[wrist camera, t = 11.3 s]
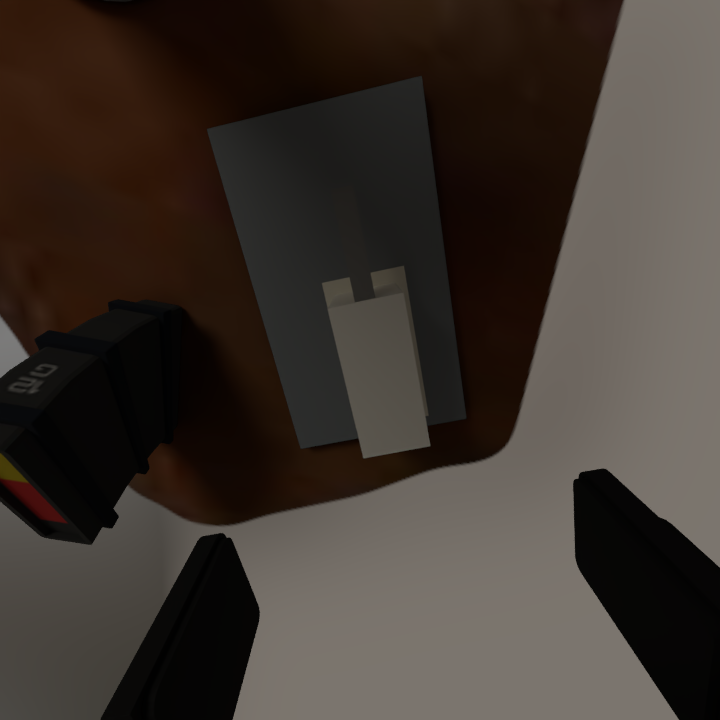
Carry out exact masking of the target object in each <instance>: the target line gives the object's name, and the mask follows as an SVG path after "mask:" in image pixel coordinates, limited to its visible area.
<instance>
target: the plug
mask: <svg viewBox="0 0 720 720" xmlns="http://www.w3.org/2000/svg"><path fill="white" fill-rule="evenodd" d="M331 195H332V199H333V204H334V208H335V213H336V218H337V222H338V227H339V231H340V236H341V241H342V245H343V250H344V254H345V259H346V264H347V268H348V273H349V277H350V282H351V287H352V291H351V292H347V293H342V294H337V295H335V296H334V298H333V300H332V301H331V303H330V305H329V307H328V313H329V317H330V322H331V326H332V330H333V334H334V338H335V342H336V346H337V351H338V355H339V359H340V363H341V367H342V371H343V375H344V380H345V384H346V388H347V392H348V396H349V400H350V404H351V408H352V413H353V417H354V421H355V425H356V429H357V433H358V437H359V442H360V446H361V450H362V454H363V458H368V457H374V456H379V455H385V454H390V453H396V452H401V451H407V450H412V449H418V448H423V447H429V446H430V441H429V435H428V429H427V423H426V418H425V412H424V406H423V400H422V395H421V389H420V383H419V378H418V372H417V366H416V360H415V355H414V349H413V343H412V337H411V332H410V326H409V320H408V315H407V309H406V303H405V297H404V292H403V291H402V290H401V289H400V288H399V287H398V286H397V284H396V283H395V282H393V283H389V284H384V285H379V286H375V287H373V283H372V278H371V273H370V268H369V263H368V258H367V253H366V248H365V243H364V238H363V233H362V228H361V223H360V218H359V213H358V207H357V202H356V197H355V192H354V187H353V185H349V186H345V187H341V188H336V189H332V190H331Z"/></svg>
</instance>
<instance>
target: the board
mask: <svg viewBox="0 0 720 720" xmlns="http://www.w3.org/2000/svg"><path fill="white" fill-rule="evenodd" d="M207 132H208V135H209V139H210V142H211V145H212V149H213V152H214V156H215V159H216V162H217V166H218V169H219V173H220V176H221V179H222V183H223V186H224V190H225V193H226V196H227V200H228V203H229V207H230V210H231V213H232V217H233V220H234V224H235V227H236V230H237V234H238V237H239V241H240V244H241V247H242V251H243V254H244V258H245V261H246V264H247V268H248V271H249V275H250V278H251V281H252V285H253V288H254V292H255V295H256V298H257V302H258V305H259V309H260V312H261V315H262V319H263V322H264V326H265V329H266V332H267V336H268V339H269V343H270V346H271V349H272V353H273V356H274V360H275V363H276V366H277V370H278V373H279V377H280V380H281V383H282V387H283V390H284V394H285V397H286V400H287V404H288V407H289V411H290V414H291V417H292V421H293V424H294V428H295V431H296V434H297V438H298V441H299V445H300V448H301V449H302V448H308V447H313V446H319V445H324V444H330V443H335V442H341V441H346V440H352V439H357V438H359V437H358V433H357V429H356V425H355V421H354V417H353V413H352V408H351V404H350V400H349V396H348V392H347V388H346V384H345V380H344V375H343V371H342V367H341V363H340V359H339V355H338V351H337V346H336V342H335V338H334V334H333V330H332V326H331V322H330V317H329V313H328V307H329V305H330V303H331V301H332V300H333V298H334V296H335V295H337V294H342V293H347V292H351V291H352V287H351V282H350V277H349V273H348V268H347V264H346V259H345V254H344V250H343V245H342V241H341V236H340V231H339V227H338V222H337V218H336V213H335V208H334V204H333V199H332V195H331V190H332V189H336V188H341V187H345V186H349V185H353V187H354V192H355V197H356V202H357V207H358V213H359V218H360V223H361V228H362V233H363V238H364V243H365V248H366V253H367V258H368V263H369V268H370V273H371V278H372V283H373V287H375V286H379V285H384V284H389V283H393V282H395V283H396V284H397V286H398V287H399V288H400V289H401V290H402V291H403V292H404V297H405V303H406V309H407V315H408V320H409V326H410V332H411V337H412V343H413V349H414V355H415V360H416V366H417V372H418V378H419V383H420V389H421V395H422V400H423V406H424V412H425V418H426V423H427V426H429V425H435V424H440V423H446V422H451V421H457V420H462V419H466V411H465V404H464V396H463V388H462V381H461V373H460V365H459V358H458V350H457V343H456V335H455V327H454V320H453V312H452V304H451V297H450V289H449V281H448V274H447V266H446V258H445V251H444V243H443V235H442V228H441V220H440V212H439V205H438V197H437V189H436V182H435V174H434V167H433V159H432V151H431V144H430V136H429V128H428V121H427V113H426V105H425V98H424V90H423V82H422V76H419V77H415V78H411V79H407V80H403V81H399V82H395V83H391V84H387V85H383V86H378V87H374V88H370V89H366V90H362V91H358V92H354V93H350V94H346V95H342V96H338V97H334V98H330V99H326V100H322V101H318V102H314V103H310V104H306V105H302V106H298V107H294V108H290V109H286V110H282V111H278V112H274V113H270V114H266V115H262V116H258V117H254V118H250V119H245V120H241V121H237V122H233V123H229V124H225V125H221V126H217V127H213V128H209V129H207Z"/></svg>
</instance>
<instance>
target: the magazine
mask: <svg viewBox="0 0 720 720" xmlns="http://www.w3.org/2000/svg"><path fill="white" fill-rule="evenodd" d="M108 307H109V312H107V313H105V314H102V315H100V316H97V317H95V318H92V319H90V320H88V321H86V322H85V323H83V324H81V325H79V326H78V327H76V328H74V329H73V330H71V331H69V332H68V333H61V332H56V331H50V330H49V331H47V332H45V333H43V334H42V335H40V336H39V337H37V338H35V342H36V344H37V346H38V349H39V351H38V352H37V353H35V354H34V355H32V356H31V357H29V358H28V359H26V360H24V361H23V362H21V363H20V364H18V365H17V366H15V367H14V368H12V369H11V370H9V371H8V372H7V373H6V374H5V375H4V376H2V377H1V378H0V502H2V503H3V504H4V505H5V506H6V507H7V508H9V509H10V510H11V511H12V512H13V513H14V514H15V515H17V516H18V517H19V518H20V519H22V521H24V522H25V523H26V524H27V525H28V526H29V527H31V528H32V529H33V530H34V531H35V532H36V533H37V534H39V535H40V536H42V537H44V538H49V539H55V540H62V541H68V542H75V543H82V544H88V545H91V544H92V543H93V542H94V540H95V538H96V537H97V535H98V533H99V532H100V530H101V528H102V527H105V528H113V526H114V525H115V523H116V521H117V519H118V518H119V516H118V515H117V513H116V512H115V510H114V509H113V508H114V506H115V505H116V503H117V502H118V500H119V498H120V497H121V495H122V493H123V492H124V490H125V488H126V487H127V485H128V484H129V483H130V481H131V480H132V478H133V477H134V476H135V474H136V473H140V474H146V473H147V471H148V470H149V464H148V460H147V458H148V457H149V456H150V455H151V453H152V452H153V451H154V450H155V449H156V447H157V446H158V445H159V444H160V443H166V444H170V443H171V442H172V441H173V430H174V429H175V428H176V426H177V416H178V393H179V370H180V347H181V324H182V308H181V307H180V306H177V305H172V304H167V303H161V302H156V301H151V300H142V301H139V302H136V303H135V302H130V301H124V300H119V299H118V300H114V301H111V302H108Z"/></svg>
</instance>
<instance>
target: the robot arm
mask: <svg viewBox="0 0 720 720" xmlns="http://www.w3.org/2000/svg"><path fill="white" fill-rule="evenodd" d="M104 1H115V2H128V1H132V0H104ZM573 492H574V528H575V558H576V562H577V565H578V568H579V570H580V572H581V573H582V575H583V576H584V578H585V579H586V581H587V582H588V584H589V585H590V587H591V588H592V589H593V591H594V593H595V594H596V596H597V597H598V599H599V600H600V602H601V603H602V605H603V606H604V608H605V609H606V611H607V612H608V614H609V615H610V617H611V618H612V620H613V621H614V623H615V624H616V626H617V627H618V629H619V630H620V632H621V633H622V635H623V636H624V638H625V639H626V641H627V642H628V644H629V645H630V647H631V648H632V650H633V651H634V653H635V654H636V656H637V657H638V659H639V660H640V662H641V663H642V665H643V666H644V668H645V669H646V671H647V672H648V674H649V675H650V677H651V678H652V680H653V681H654V683H655V684H656V686H657V687H658V689H659V690H660V692H661V693H662V695H663V696H664V698H665V699H666V701H667V702H668V704H669V705H670V707H671V708H672V710H673V711H674V713H675V714H676V716H677V717H678V719H679V720H720V567H718V566H717V565H716V564H715V563H714V562H713V561H712V560H711V559H710V558H708V557H707V556H706V555H705V554H704V553H703V552H702V551H701V550H700V549H698V548H697V547H696V546H695V545H694V544H693V543H692V542H691V541H690V540H689V539H688V538H686V537H685V536H684V535H683V534H682V533H681V532H680V531H679V530H678V529H676V528H675V527H674V526H673V525H672V524H671V523H669V522H668V521H667V520H664V519H662V518H660V517H658V516H657V515H656V514H655V513H654V512H652V510H650V509H649V508H648V507H647V506H646V505H645V504H644V503H643V502H642V501H641V500H639V499H638V498H637V497H636V496H635V495H634V494H633V493H632V492H631V491H630V490H629V489H628V488H627V487H625V486H624V485H623V484H622V483H621V482H620V481H619V480H618V479H617V478H616V477H615V476H613V475H612V474H611V473H610V472H609V471H608V470H606V469H597V470H591V471H585V472H581V473H580V474H579V479H575V480H574V483H573ZM259 613H260V611H259V606H258V603H257V601H256V598H255V596H254V593H253V591H252V589H251V586H250V583H249V581H248V578H247V576H246V573H245V571H244V568H243V566H242V563H241V561H240V558H239V556H238V554H237V551H236V549H235V546H234V543H233V541H232V539H231V538H226V536H225V535H224V534H223V533H219V534H214V535H208V536H203V537H201V538H200V539H199V540H198V541H197V543H196V545H195V547H194V549H193V551H192V552H191V554H190V556H189V558H188V560H187V562H186V563H185V565H184V567H183V569H182V571H181V573H180V574H179V576H178V578H177V580H176V582H175V584H174V585H173V587H172V589H171V591H170V593H169V595H168V596H167V598H166V600H165V602H164V604H163V605H162V607H161V609H160V611H159V613H158V615H157V616H156V618H155V620H154V622H153V624H152V626H151V627H150V629H149V631H148V633H147V635H146V637H145V638H144V640H143V642H142V644H141V646H140V648H139V649H138V651H137V653H136V655H135V657H134V659H133V660H132V662H131V664H130V666H129V668H128V670H127V672H126V673H125V675H124V677H123V679H122V680H121V682H120V684H119V686H118V688H117V690H116V692H115V693H114V695H113V697H112V699H111V701H110V702H109V704H108V706H107V708H106V710H105V712H104V714H103V715H102V717H101V720H232V719H233V716H234V712H235V709H236V705H237V701H238V697H239V694H240V690H241V686H242V683H243V679H244V675H245V671H246V667H247V664H248V660H249V656H250V653H251V649H252V645H253V642H254V638H255V634H256V630H257V627H258V623H259V616H260V614H259Z"/></svg>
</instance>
